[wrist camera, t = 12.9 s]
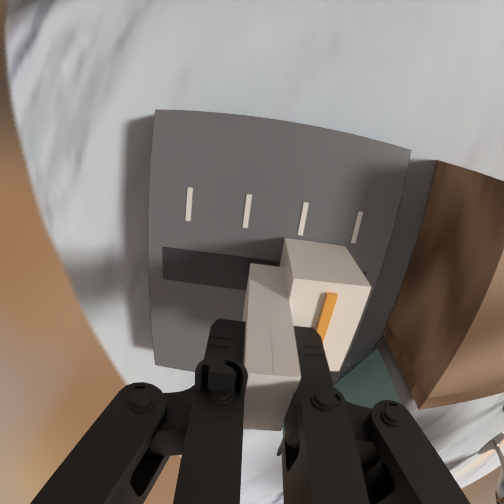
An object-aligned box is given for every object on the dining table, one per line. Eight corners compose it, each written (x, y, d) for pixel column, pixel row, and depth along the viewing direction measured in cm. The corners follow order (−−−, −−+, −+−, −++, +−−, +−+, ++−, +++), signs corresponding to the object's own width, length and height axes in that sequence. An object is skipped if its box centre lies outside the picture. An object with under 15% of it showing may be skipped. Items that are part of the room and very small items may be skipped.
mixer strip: (167, 111, 14) (154, 109, 12) (394, 146, 14) (411, 150, 12) (162, 345, 20) (154, 365, 18) (331, 363, 20) (336, 384, 18)
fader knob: (284, 237, 14) (294, 281, 10) (344, 246, 14) (373, 289, 10) (270, 314, 16) (272, 370, 12) (323, 320, 16) (339, 374, 12)
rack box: (436, 160, 14) (520, 188, 8) (539, 204, 15) (599, 236, 8) (382, 333, 19) (418, 409, 12) (489, 333, 19) (528, 384, 13)
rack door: (396, 341, 19) (426, 400, 14) (293, 425, 23) (298, 480, 18) (376, 327, 19) (405, 389, 13) (271, 416, 22) (272, 474, 17)
